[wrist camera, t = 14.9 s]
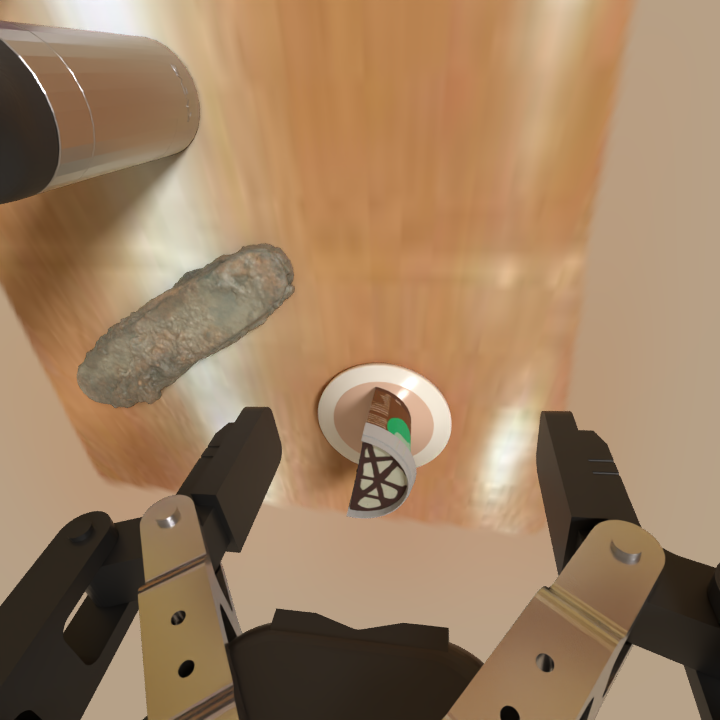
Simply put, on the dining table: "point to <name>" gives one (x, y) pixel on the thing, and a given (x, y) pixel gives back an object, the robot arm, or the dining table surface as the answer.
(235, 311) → the elongated rock
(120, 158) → the robot arm
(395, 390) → the dish
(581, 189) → the dining table surface
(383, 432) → the food container
